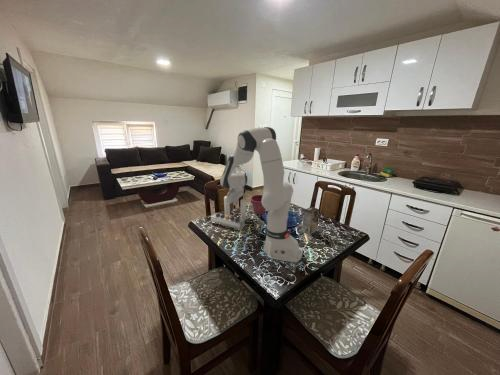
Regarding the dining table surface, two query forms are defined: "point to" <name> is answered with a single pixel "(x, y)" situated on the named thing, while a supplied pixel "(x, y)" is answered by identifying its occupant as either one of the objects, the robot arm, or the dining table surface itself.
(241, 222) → the grey tube rack
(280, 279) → the dining table surface
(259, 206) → the plant pot
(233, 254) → the dining table surface
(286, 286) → the dining table surface
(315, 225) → the coffee box
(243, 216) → the cord post near
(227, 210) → the cord post far
